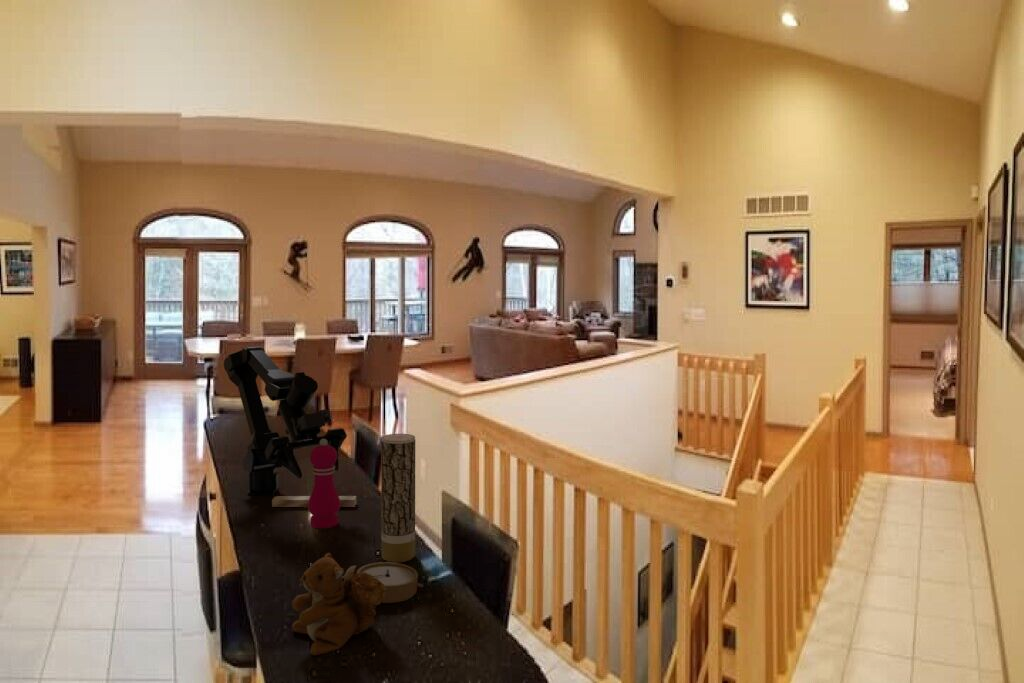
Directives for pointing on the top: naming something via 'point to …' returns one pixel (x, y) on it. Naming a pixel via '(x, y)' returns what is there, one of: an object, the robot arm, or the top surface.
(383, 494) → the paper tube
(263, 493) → the robot arm
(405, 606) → the top surface
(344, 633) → the stuffed squirrel
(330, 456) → the pepper mill
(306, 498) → the flat beige strip
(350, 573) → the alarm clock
